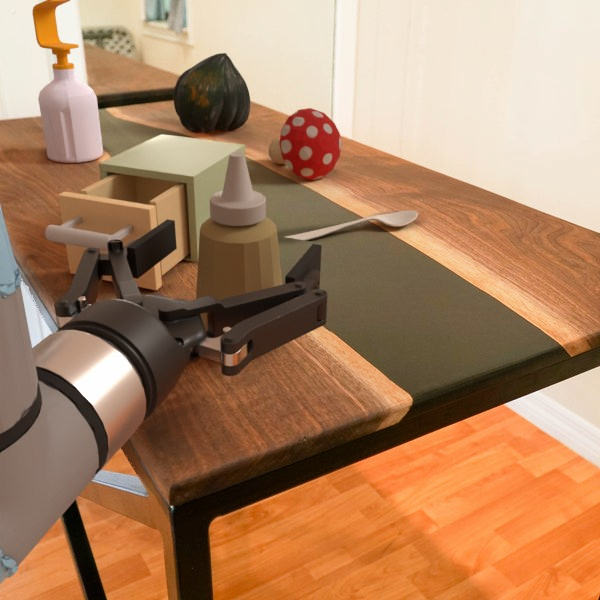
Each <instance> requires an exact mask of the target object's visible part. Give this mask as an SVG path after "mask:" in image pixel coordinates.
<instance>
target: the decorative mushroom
mask: <svg viewBox="0 0 600 600" xmlns="http://www.w3.org/2000/svg"><path fill="white" fill-rule="evenodd" d="M341 151H342V138H341V133H340V131H339V129H338V127H337V125H336V124H335V122H334V121H333V120H332V118H331V117H329V116H328V115H327V114H326V113H325V112H323V111H320V110H317V109H314V108H311V107H309V108H300V109H297V110H296V111H295V112H293V113H292V114H290V115H289V116H288V117H287V118H286V120H285V122H284V124H283V126H282V127H281V129H280V135H279V137H277V138H274V139H273V140H271V142H270V144H269V146H268V156H269V158H270V159H271V161H272V162H273V163H275V164H277V165H284V164H285V165H286V167H287V169H288V170H289V171H291V172H292V173H293V174H295V176H297V177H299V178H301V179H305V180H308V181H315V180H320V179H323V178H325V177H326V176H327V175H328V174H330V173H331V172H332V171H334V169H335V167H336V166H337V163H338V161H339V160H340V156H341Z"/></svg>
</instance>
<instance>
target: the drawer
mask: <svg viewBox="0 0 600 600" xmlns="http://www.w3.org/2000/svg"><path fill="white" fill-rule="evenodd" d="M57 199H58V205H59V211H60V212H59V213H60V218H61V224H60V225H57V224H49V225H47V226H46V227H45V231H44V237H45V239H46V240H47V241H49V242H54V243H59V244H65V250H66V255H67V256H66V257H67V263H68V269H69V273H70V274H72V275H75V273H76V270H77V268H78V265H79V263H80V260H81V258H82V255H83V253H84V251H85V250H86V249H88V248H98V249H100V253H108V246H107V242H108V241H110V240H114V239H118V240H122V241H123V247H124V246H125V245H127V244H128V243H130V242H131V241H133V240H135V239H139V238H141V237H142V236H144V235H145V234H147V233H148V232H149V231H151V230H152V229H154V228H155V227H157V226H158V225H160V224H161V223H163V222H164V221H166V220H167V219H168V220H174V221H175V231H176V245H177V249H176V250H174V251H173V252H172V253H170V254H169V255H168V256H167V257H165V258H164V259H163V260H161V261H160V262H159V263H158V264H156V265H155V266H154V267H152V268H151V269H150V270H148V271H147V272H146V273H145V274H143V275H142V276H141V277H139V278H138V279H136V278H133V279H134V280H135V281H136V283H137V286H138V288H141V289H147V290H152V291H158V290H159V289H160V288H162V286H163V282H162V276H164V275H165V274H166V273H167V272H169V271H170V270H172V268H174V267H175V266H176V265H177V264H179V263H180V262H181V261H182V259H183V258H184V257H186V256H187V255H188V254H189V253H190V252H191V249H190V232H189V216H188V199H187V183H180V182H173V181H166V180H160V179H153V178H146V177H139V176H132V175H125V174H119V173H114V174H112V175H110V176H108V177H106V178H104V179H102V180H101V179H99V180H98V181H96V182H94V183H92V184H91V185H89V186H87V187H84V188H82V189H81V190H80V193H78V192H77V193H76V192H71V191H63V192H61V193H59V194H57ZM102 281H108V282H112V278H111V276H103V280H102Z"/></svg>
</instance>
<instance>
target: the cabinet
mask: <svg viewBox="0 0 600 600" xmlns="http://www.w3.org/2000/svg"><path fill="white" fill-rule="evenodd" d="M235 152H239V153H243V154H244V155H245V156H246V144H245V143H244V144H242V143H236V142H228V141H219V140H212V139H204V138H196V137H187V136H180V135H179V136H178V135H171V134H164V133H161V134H158V135H156V136H155V137H152V138H150V139H147V140H145V141H144V142H141V143H139V144H136V145H135V146H133V147H130V148H128V149H126V150H124V151H122V152H120V153H118V154H115V155H114V156H111V157H109V158H107V159H105V160H102V161H100V162H98V169H99V180H102V179H104V178H106V177H108V176H110V175H112V174H114V173H119V174H125V175H132V176H139V177H146V178H153V179H160V180H166V181H173V182H180V183H187V199H188V216H189V232H190V249H191V252H190V253H189V254H188V255H187V256H186V257H184V258H183V259H182V260H183V261H187V262H193V263H198V254H199V236H200V228H201V225H202V224H203V223H204V222H205V221H206V220H208V219H209V218H210V198H211V196H212V195H214V194H215V193H217V192H220V191H223V188H224V182H225V177H226V172H227V166H228V161H229V156H230V154H231V153H235ZM246 158H247V157H245V160H246V161H247V159H246ZM182 260H181V261H182Z"/></svg>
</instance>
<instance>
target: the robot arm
mask: <svg viewBox="0 0 600 600" xmlns="http://www.w3.org/2000/svg"><path fill="white" fill-rule="evenodd" d="M4 216H5V215H4V213H3V208H2V205H1V204H0V585H1V584H2V583H3V582H4V581H5V580H6V579H7V578H11V577H13V576H14V575H15V574H16V573H17V572H18V570H19V566H20V565H21V564H22V562H23V561H25V560H26V558H27V557H28V556H29V554H31V552H32V551H33V550H34V549H35V547H36V546H37V545H38V544H39V543H40V542H41V541H42V539H43V538H44V537H45V536H46V534H48V532H49V531H50V530H51V528H53V527H54V525H55V524H56V523H57V522H58V521H59V519H61V517H62V516H63V515H64V514H65V513H66V512H67V510H68V509H69V508H70V507H71V505H72V504H73V503H74V502H75V501H76V500H77V499H78V497H79V496H80V495H81V494H82V493H83V491H84V490H85V489H86V488H87V487H88V486H89V484H90V483H92V481H93V480H94V479H95V477H96V476H97V474H98V473H99V472H101V471H102V470H103V469H104V467H105V466H107V464H108V463H109V462H110V461H111V460H112V458H113V457H115V455H116V454H117V453H118V451H120V450H121V448H122V447H123V446H124V445H125V443H127V442H128V440H129V439H130V438H131V437H132V436H133V435H134V434H135V432H136V431H137V430H138V429H139V427H141V425H142V424H143V422H144V421H146V420H148V418H149V417H150V416H152V414H153V413H154V412H155V411H156V410H157V408H158V407H159V406H160V405H161V404H162V403H163V401H164V400H166V398H167V397H168V396H169V395H170V394H171V392H172V391H173V390H174V389H175V387H176V386H177V385H178V383H179V381H180V379H181V377H182V375H183V373H184V372H185V370H186V368H187V367H188V366H189V365H191V364H194V363H196V362H199V361H201V360H202V359H203V358H204V359H207V360H210V361H214V362H217V363H220V369H221V371H220V372H221V374H222V375H224V376H226V377H234V376H237V375H238V374H240V373H241V372H242V371H243V370H244V369H245V368H246V367H247V366H248V365H249V364H250V363H251V362H252V361H253V360H256V359H258V358H259V357H262V356H264V355H266V354H268V353H270V352H272V351H274V350H276V349H278V348H280V347H282V346H284V345H286V344H288V343H291V342H293V341H295V340H297V339H298V338H301V337H303V336H305V335H307V334H309V333H311V332H313V331H316V330H317V329H319V328H321V327H323V326H325V325H326V324H327V314H328V313H327V312H328V295H329V294H328V291H326V290H324V289H320V286H321V284H320V283H321V267H322V244H317V243H312V244H311V246H310V247H309V248H308V249H307V250H306V251H305V252H304V253H303V255H302V256H301V257H300V258H299V259H298V261H297V262H296V263H295V264H294V265H293V266H292V268H291V269H290V270H289V271H288V272H287V273H286V275H285V277H284V284H283V283H282V285H279V286H275V287H271V288H267V289H262V290H258V291H254V292H250V293H246V294H242V295H237V296H233V297H229V298H225V299H221V300H218V299H217V298H216V297H215V296H207V297H202V298H198V299H196V298H195V299H184V298H171V297H168V296H166V295H162V294H159V293H154V292H153V293H152V294H145V295H142V293H141V292H140V289H139V287H138V286H137V283H136V281H135V280H134V279H133V278H136V279H138V278H139V277H141V276H142V275H143V274H145V273H146V272H147V271H148V270H150V269H151V268H152V267H154V266H155V265H156V264H158V263H159V262H160V261H161V260H163V259H164V258H165V257H167V256H168V255H169V254H170V253H172V252H173V251H174V250H176V249H177V245H176V231H175V221H174V220H168V219H167V220H166V221H164V222H163V223H161V224H160V225H158V226H157V227H155V228H154V229H152V230H151V231H149V232H148V233H147V234H145V235H144V236H142V237H141V238H139V239H135V240H133V241H131V242H130V243H128V244H127V245H125V246H124V247H123V241H122V240H118V239H114V240H110V241H108V242H107V246H108V253H100V249H98V248H88V249H86V250H85V251H84V253H83V255H82V258H81V260H80V263H79V265H78V268H77V270H76V273H75V274H73V278H72V281H71V283H70V286H69V288H68V291H67V292H66V293H64V294H63V295H62V296H61V297H60V298H59V299H57V300H56V301H55V302H54V303H53V304H54V305H53V306H54V311H55V312H54V313H55V320H56V324H57V330H56V331H55V332H53V333H50V334H49V335H47V336H46V337H44V338H43V339H42V340H41V341H39V342H38V343H37V344H35V345H34V346H33V344H32V341H31V340H32V339H31V334H30V329H29V323H28V319H27V318H28V317H27V313H26V309H25V303H24V297H23V292H22V287H21V286H22V285H21V284H22V277H21V274H20V270H19V267H18V263H17V260H16V258H15V255H14V250H13V247H12V244H11V239H10V236H9V232H8V227H7V223H6V220H5V217H4ZM103 276H111V278H112V281H111V282H112V285H113V288H114V293H115V296H116V298H106V299H105V298H104V299H101V300H98V299H97V298H98V296H99V293H100V289H101V285H102V282H103V281H104V280H103ZM97 300H98V301H97ZM206 312H207V323H208V330H207V332H206V330H205V327H204V324H203V321H202V318H201V315H200V314H202V313H206Z"/></svg>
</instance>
